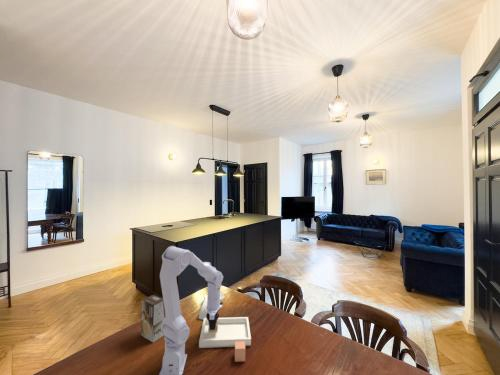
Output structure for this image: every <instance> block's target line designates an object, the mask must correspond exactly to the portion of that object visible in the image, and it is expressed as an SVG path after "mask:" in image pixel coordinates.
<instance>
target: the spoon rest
mask: <svg viewBox="0 0 500 375" xmlns="http://www.w3.org/2000/svg"><path fill="white" fill-rule="evenodd" d="M207 295H208V293H207V294H204V297H203V298H204V301H203V303H202V306H201V308H200V311H199V313H198V314H199V315H198V319H199V320H202V321H203V320H204V318H206V314H207V313H208V310H207ZM224 299H225V294H224V293H222V292H220V304H221V303H222V302H223V301H224Z"/></svg>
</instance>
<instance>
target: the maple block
mask: <svg viewBox="0 0 500 375" xmlns="http://www.w3.org/2000/svg"><path fill="white" fill-rule="evenodd" d="M217 331H218V319H217V322H216V327H215V330H210V327H209V329H208V333H210V332H217Z"/></svg>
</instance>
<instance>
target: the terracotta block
mask: <svg viewBox="0 0 500 375" xmlns="http://www.w3.org/2000/svg"><path fill="white" fill-rule="evenodd" d="M234 362H238V363H239V362H246V346H245V341H240V342H235V347H234Z"/></svg>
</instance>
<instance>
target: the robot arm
mask: <svg viewBox="0 0 500 375" xmlns="http://www.w3.org/2000/svg"><path fill="white" fill-rule="evenodd" d="M161 259H162V263H161V268H160V272H159V280H160V288H161V293H162V298H163V301H164V308H165V318H164V319H163V321H162V322H163V326H162V330H161V332H162V335H163V336H162V337H164V354H163V356H162V361H161V362H162V366H161V368H160V369H161V370H160V372H159V374H158V375H183V374H184V368H185V365H186V361H187V358H188V354H187V353H185V352H186V351H185V350H186V342H187V340H188V338H189V336H190V333H191V332H190V331H191V330H190V327H189V326H188V325H187V321H186V319H185V318H184V317H183V314H182V309H181V301H180V295H179V294H180V293H179V288H178V282H177V281H178V280H177V279H178V278H177V277H178V276H180V274H181V273H182V272H183V271H184V270H185V269H186V268H187V267H188V266H192V267H194V268H195V269H197V273H198V275H200V276H201V277H202V278H204V280H205V281H206V282H207V294H208V295H207V294H206V295H207V314H206V318H207V320H208V322H209V327H210V330H215V327H216V322H217V319H218V318H220V313H219V311H220V309H222V308H223V304H221V303H220V293H221V287H222V282H223V280H224V275H223V273H222V271H219V270H217V268H216V267H215V266H212V263H211V262H209V261H202V260H201V259H200V258H199V257H197V255H195V253H194V252H192V251H190V249H184V248H180V247H178V246H177V247H176V246H175V245H170V246H168V247H167V248H166V249H165V251H164V252H163V253H162V255H161Z"/></svg>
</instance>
